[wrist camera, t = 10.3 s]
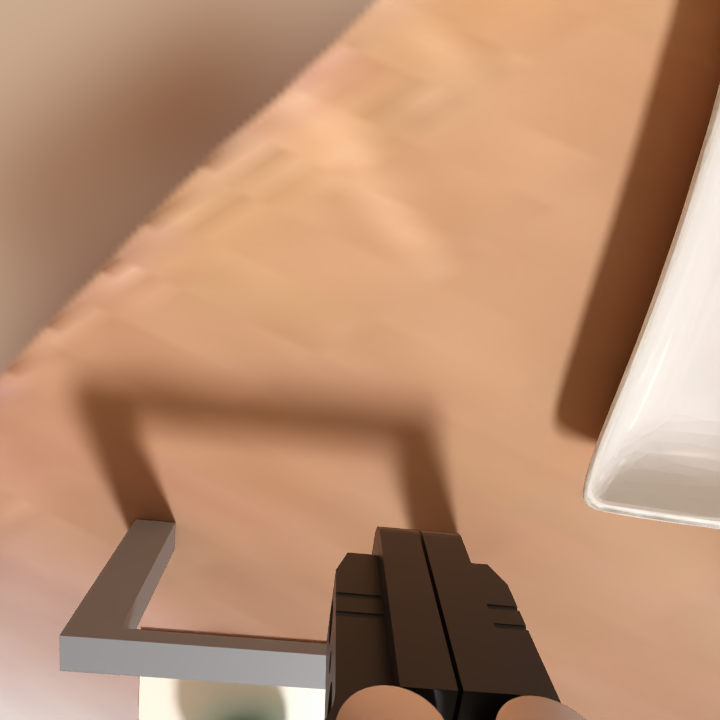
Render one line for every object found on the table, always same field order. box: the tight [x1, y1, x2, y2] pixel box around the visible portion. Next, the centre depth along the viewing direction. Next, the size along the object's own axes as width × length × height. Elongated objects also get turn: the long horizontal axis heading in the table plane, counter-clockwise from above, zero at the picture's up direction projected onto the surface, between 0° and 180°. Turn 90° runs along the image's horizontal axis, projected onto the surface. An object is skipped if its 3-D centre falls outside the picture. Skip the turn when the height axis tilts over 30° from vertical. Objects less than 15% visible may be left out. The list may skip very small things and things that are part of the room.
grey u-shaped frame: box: [60, 519, 326, 689], centre depth 25 cm, size 17×2×8 cm, turn 83°
